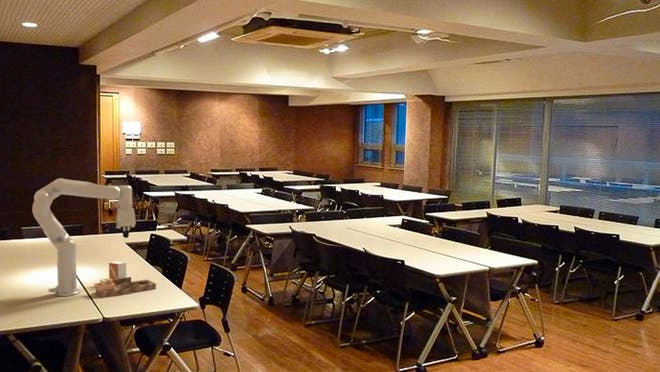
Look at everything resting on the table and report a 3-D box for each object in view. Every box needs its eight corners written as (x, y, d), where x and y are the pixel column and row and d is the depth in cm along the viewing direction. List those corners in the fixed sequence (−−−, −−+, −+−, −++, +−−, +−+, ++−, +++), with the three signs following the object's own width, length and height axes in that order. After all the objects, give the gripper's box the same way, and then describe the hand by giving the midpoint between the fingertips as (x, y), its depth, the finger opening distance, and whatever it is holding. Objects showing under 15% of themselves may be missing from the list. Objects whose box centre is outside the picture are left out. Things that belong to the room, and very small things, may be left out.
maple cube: (103, 290, 315) (103, 281, 314) (100, 288, 319) (100, 279, 318) (112, 288, 318) (112, 280, 318) (109, 287, 322) (109, 278, 321)
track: (103, 297, 311) (103, 286, 311) (95, 292, 321) (95, 282, 321) (156, 288, 330) (155, 278, 330) (147, 284, 340) (146, 274, 340)
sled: (99, 291, 312) (99, 286, 311) (94, 287, 318) (94, 283, 318) (115, 288, 317) (115, 284, 317) (109, 285, 324) (109, 281, 324)
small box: (109, 283, 341) (108, 262, 340) (117, 281, 346) (117, 260, 345) (118, 285, 337) (117, 264, 336) (126, 283, 342) (126, 262, 341)
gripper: (114, 208, 324) (115, 239, 326) (140, 206, 334) (140, 237, 336) (110, 206, 330) (110, 237, 332) (135, 205, 340) (135, 235, 341)
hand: (125, 237), depth 334 cm, fingers closed
